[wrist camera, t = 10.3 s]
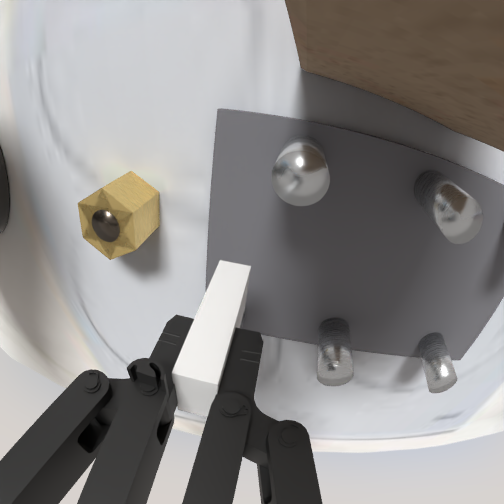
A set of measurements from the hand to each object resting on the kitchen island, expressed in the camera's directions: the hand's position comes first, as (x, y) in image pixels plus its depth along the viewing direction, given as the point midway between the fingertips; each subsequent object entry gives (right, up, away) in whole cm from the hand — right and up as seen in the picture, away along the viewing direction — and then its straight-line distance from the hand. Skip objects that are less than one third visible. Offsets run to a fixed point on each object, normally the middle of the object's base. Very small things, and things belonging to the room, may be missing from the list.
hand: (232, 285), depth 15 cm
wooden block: (+9, +14, -4) cm, 17 cm away
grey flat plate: (+10, +1, +4) cm, 11 cm away
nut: (-7, +5, +5) cm, 10 cm away
